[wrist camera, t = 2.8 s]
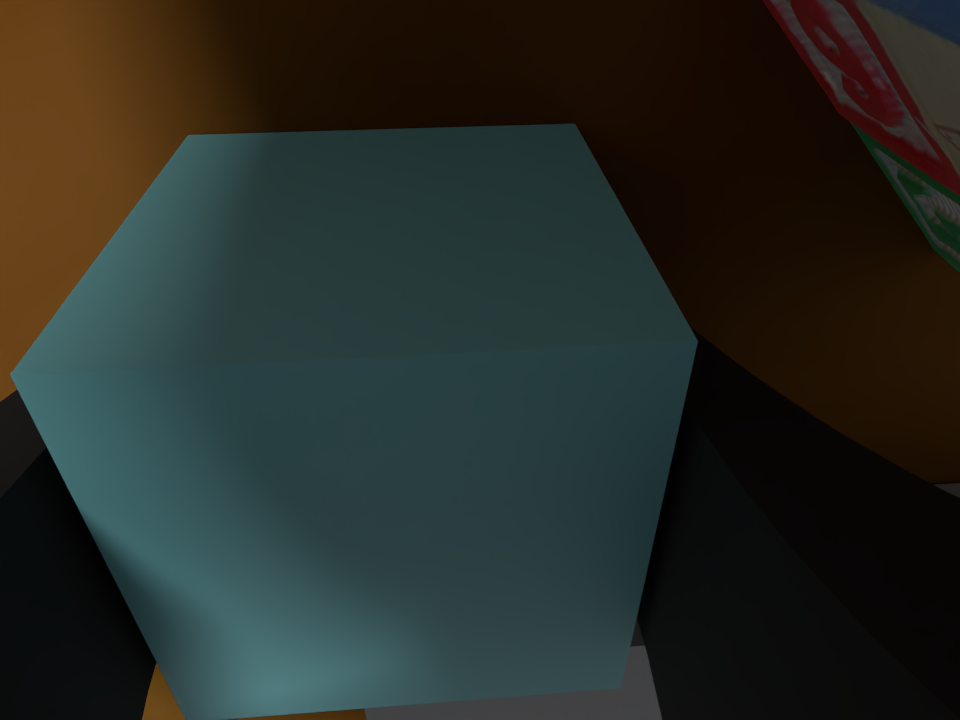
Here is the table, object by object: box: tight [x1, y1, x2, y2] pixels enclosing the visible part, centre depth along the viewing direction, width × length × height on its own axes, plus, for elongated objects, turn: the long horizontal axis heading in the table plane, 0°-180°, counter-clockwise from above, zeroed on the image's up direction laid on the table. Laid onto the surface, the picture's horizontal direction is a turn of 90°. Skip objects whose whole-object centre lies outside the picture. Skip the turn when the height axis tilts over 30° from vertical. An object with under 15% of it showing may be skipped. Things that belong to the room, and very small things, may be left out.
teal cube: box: [10, 124, 698, 720], centre depth 9 cm, size 5×5×5 cm
